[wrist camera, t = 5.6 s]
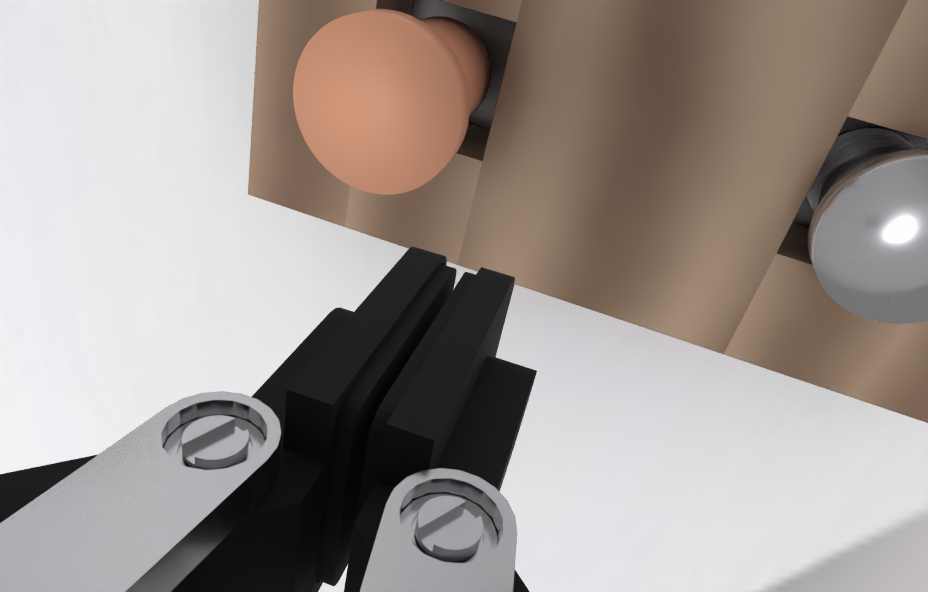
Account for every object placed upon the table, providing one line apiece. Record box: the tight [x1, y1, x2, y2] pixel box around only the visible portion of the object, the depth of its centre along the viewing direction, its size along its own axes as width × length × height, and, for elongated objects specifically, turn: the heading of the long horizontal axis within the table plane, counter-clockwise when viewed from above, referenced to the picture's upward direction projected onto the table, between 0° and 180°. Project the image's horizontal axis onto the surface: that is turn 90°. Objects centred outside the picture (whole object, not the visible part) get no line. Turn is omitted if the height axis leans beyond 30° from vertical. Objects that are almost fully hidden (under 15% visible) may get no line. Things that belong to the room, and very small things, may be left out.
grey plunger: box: [806, 128, 928, 324], centre depth 23 cm, size 5×5×6 cm
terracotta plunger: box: [293, 9, 491, 195], centre depth 22 cm, size 5×5×6 cm
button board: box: [248, 0, 928, 423], centre depth 25 cm, size 30×14×4 cm, turn 77°
